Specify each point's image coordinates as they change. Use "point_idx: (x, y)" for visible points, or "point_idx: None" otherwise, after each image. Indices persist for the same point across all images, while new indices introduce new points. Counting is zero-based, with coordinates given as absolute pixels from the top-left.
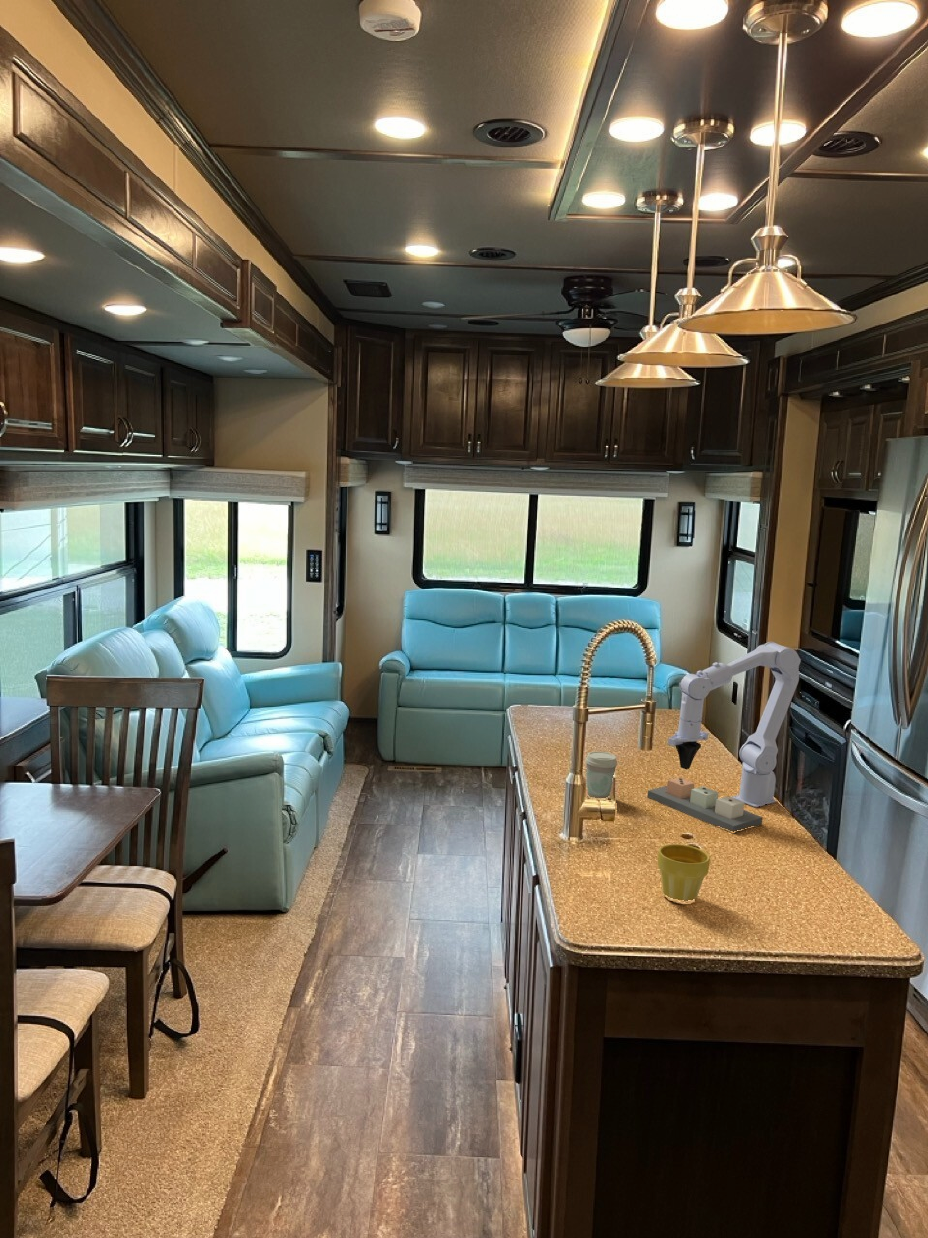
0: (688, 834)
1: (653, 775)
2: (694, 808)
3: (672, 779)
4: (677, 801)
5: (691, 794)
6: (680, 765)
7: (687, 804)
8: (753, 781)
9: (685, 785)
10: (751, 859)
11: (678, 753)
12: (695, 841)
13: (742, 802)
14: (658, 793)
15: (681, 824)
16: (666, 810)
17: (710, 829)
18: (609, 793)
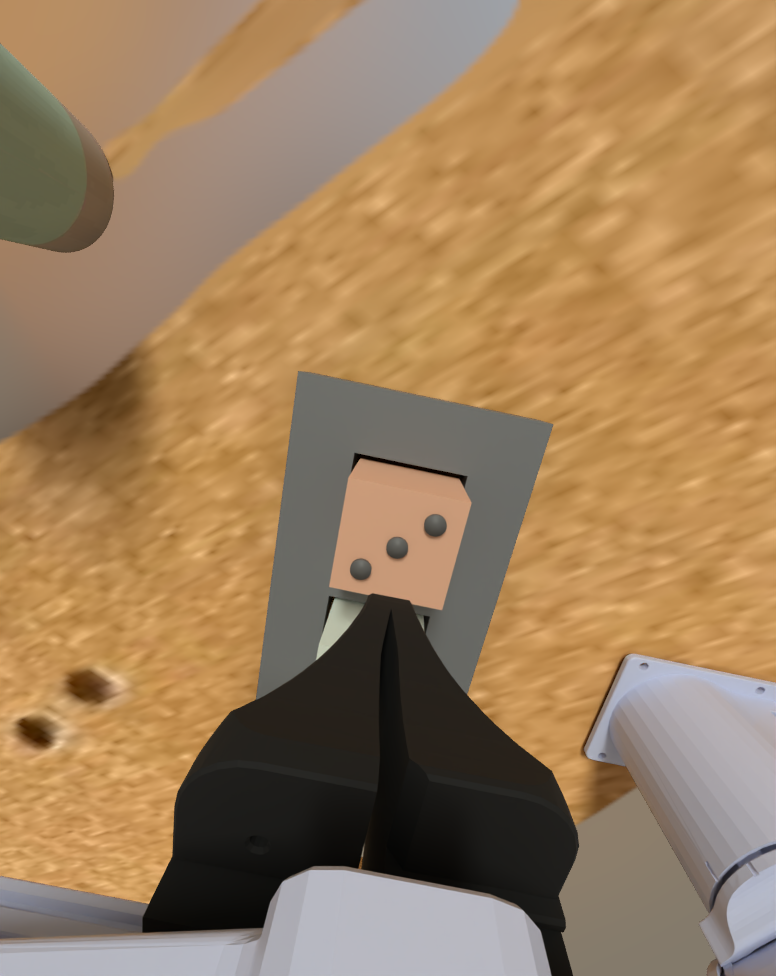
0: (108, 684)
1: (720, 164)
2: (274, 648)
3: (387, 491)
4: (287, 560)
5: (324, 630)
6: (365, 602)
7: (292, 608)
8: (676, 848)
9: (358, 591)
10: (127, 860)
11: (318, 663)
12: (80, 721)
13: (362, 855)
14: (305, 438)
15: (164, 631)
16: (241, 523)
17: (220, 715)
18: (38, 241)
